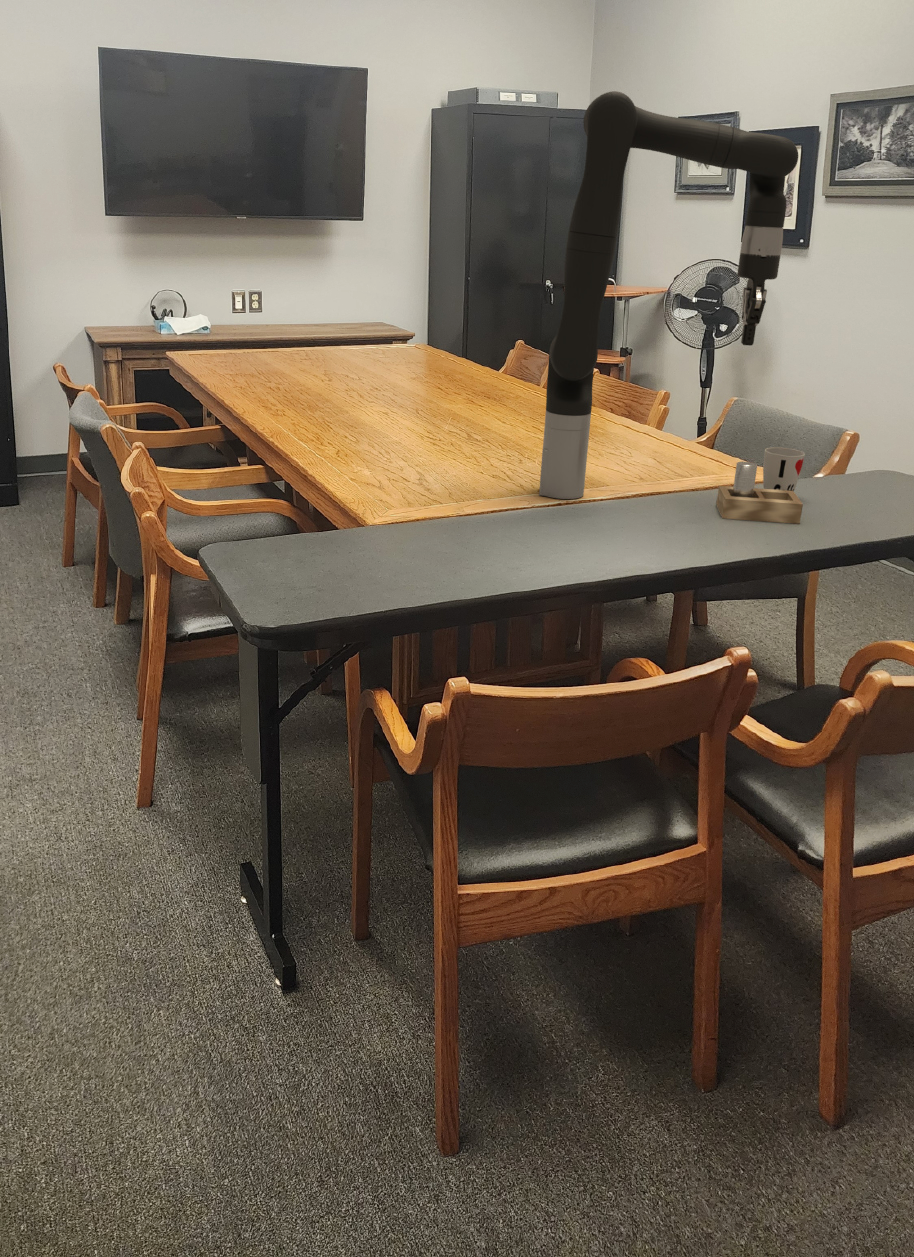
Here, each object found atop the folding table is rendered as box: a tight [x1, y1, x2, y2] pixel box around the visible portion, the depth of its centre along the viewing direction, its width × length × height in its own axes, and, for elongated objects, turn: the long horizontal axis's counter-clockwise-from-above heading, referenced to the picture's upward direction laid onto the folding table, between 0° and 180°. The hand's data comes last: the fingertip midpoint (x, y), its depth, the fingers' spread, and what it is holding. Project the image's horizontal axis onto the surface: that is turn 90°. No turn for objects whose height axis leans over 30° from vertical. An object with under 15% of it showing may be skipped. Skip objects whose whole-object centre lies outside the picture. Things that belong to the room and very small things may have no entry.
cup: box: [762, 447, 806, 492], centre depth 224 cm, size 8×8×10 cm
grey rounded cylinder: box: [732, 461, 758, 498], centre depth 212 cm, size 4×4×10 cm
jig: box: [715, 485, 804, 525], centre depth 213 cm, size 15×10×4 cm, turn 85°
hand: (747, 344), depth 209 cm, fingers closed
